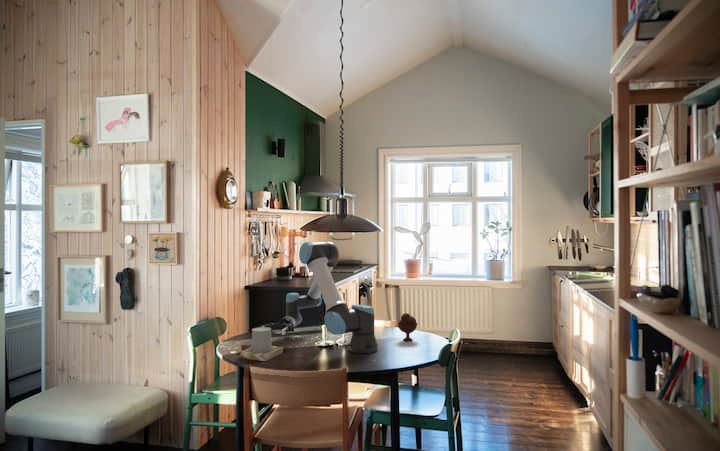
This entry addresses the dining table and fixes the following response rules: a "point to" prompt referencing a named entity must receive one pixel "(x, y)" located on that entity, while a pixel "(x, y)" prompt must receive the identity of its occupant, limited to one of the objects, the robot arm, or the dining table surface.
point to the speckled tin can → (261, 340)
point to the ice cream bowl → (407, 325)
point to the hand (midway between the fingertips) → (270, 331)
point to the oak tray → (262, 357)
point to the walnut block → (245, 346)
